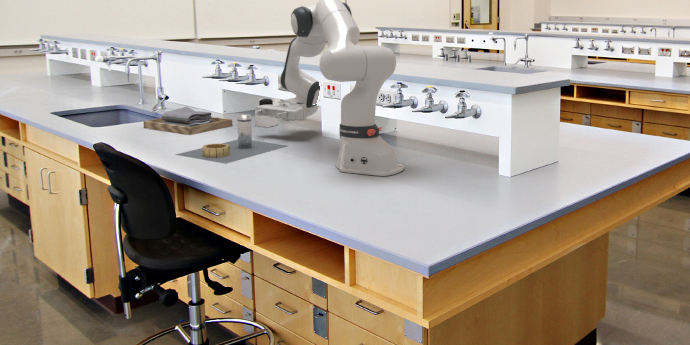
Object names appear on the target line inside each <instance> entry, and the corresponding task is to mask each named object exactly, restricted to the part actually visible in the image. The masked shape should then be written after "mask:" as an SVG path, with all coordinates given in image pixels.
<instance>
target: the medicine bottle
mask: <svg viewBox="0 0 690 345" xmlns="http://www.w3.org/2000/svg"><path fill="white" fill-rule="evenodd" d="M273 102H274V101H273V99H272V98H260V99H259V100H258V106H260V105H274V104H273ZM254 114H255V116H254V118H255V119H254V121H255V127H260V128H261V127H262V128H271V127H275V126H278V118H275V117H268V116H257V115H256V109H255V110H254Z"/></svg>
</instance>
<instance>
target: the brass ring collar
mask: <svg viewBox="0 0 690 345" xmlns="http://www.w3.org/2000/svg"><path fill="white" fill-rule="evenodd" d="M201 148H202V153H203V156H204V157H210V158H216V157H217V158H218V157H225V156H229V155H230V145H228V144H221V143H209V144H208V143H207V144H204V145H202V147H201Z"/></svg>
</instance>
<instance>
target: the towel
mask: <svg viewBox="0 0 690 345" xmlns="http://www.w3.org/2000/svg"><path fill="white" fill-rule="evenodd" d="M212 117H213V116H212V112H210V111H200V110H199V111H196V110H194V109H193V108H190V107H188V106H184V107H181V108H177V109H172V110H168V111H165V112H164V113H163V114H162V116H161V118H162V119H163V120H165V121H163V122H162V123H165V124H172V125H179V126H186V127H193V126H198V125H203V124H208V123H211V122H212V120H209V119H210V118H211V119H212Z"/></svg>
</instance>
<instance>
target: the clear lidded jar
mask: <svg viewBox="0 0 690 345" xmlns="http://www.w3.org/2000/svg"><path fill="white" fill-rule="evenodd" d="M236 116H237V118H236V120H237V140H238V147H239V148H242V149H247V148H252V140H253V137H252V133H253V132H252V114H249V113H240V114H237V115H236Z"/></svg>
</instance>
